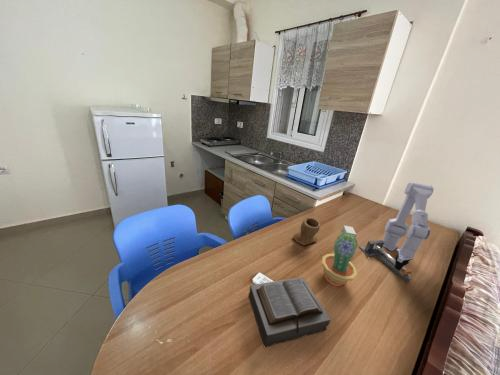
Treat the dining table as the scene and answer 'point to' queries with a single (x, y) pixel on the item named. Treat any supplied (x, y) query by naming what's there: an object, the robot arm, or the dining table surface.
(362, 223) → the dining table surface
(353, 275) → the potted cactus
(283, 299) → the bible
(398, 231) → the robot arm
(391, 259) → the metal rod with plate
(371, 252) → the grey hammer
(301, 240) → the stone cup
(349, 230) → the small box
